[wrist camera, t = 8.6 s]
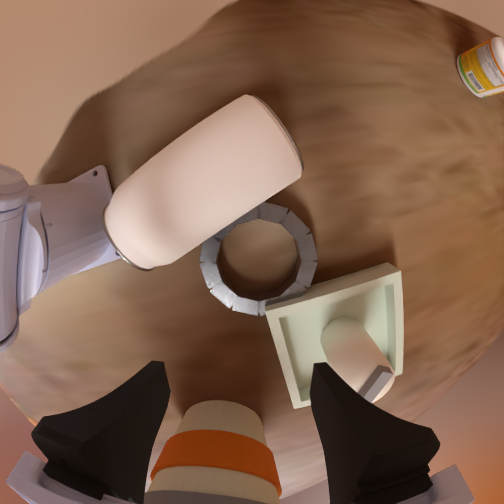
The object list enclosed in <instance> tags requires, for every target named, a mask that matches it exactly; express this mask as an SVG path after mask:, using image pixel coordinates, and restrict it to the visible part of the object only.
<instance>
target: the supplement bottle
mask: <svg viewBox="0 0 504 504" xmlns="http://www.w3.org/2000/svg"><path fill="white" fill-rule="evenodd" d="M457 69H458V72H459V74H460V77H461V78H462V80H463V82H464V84H465V85H466V86H467V88H468V89H469V90H470V91H471V92H472V93H473V94H475V95H476V96H478V97H487V96H491V95H494V94H498V93H502V92H504V39H503V38H501V37H495V38H492V39H490V40H488V41H486V42H484V43H482V44H480V45H478V46H476V47H474V48H472V49H470V50H468V51H466V52H464V53H462V54H460V55H459V56H458V58H457Z"/></svg>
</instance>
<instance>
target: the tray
mask: <svg viewBox="0 0 504 504" xmlns="http://www.w3.org/2000/svg"><path fill="white" fill-rule="evenodd" d="M307 289H308V291H307V292H305V293H304V294H303V295H302V296H301V297H298V298H294V299H291V300H287V301H283V302H280V303H276V304H272V305H268V306H265V313H266V316H267V320H268V323H269V326H270V330H271V333H272V336H273V340H274V343H275V347H276V350H277V353H278V357H279V360H280V363H281V367H282V370H283V373H284V377H285V380H286V384H287V387H288V390H289V394H290V397H291V400H292V404H293V407H294V409H297V408H301V407H305V406H309V405H311V401H310V394H309V392H310V386H311V379H312V372H313V365H314V363H321V362H327V363H328V361H327V358H326V356H325V353H324V351H323V348H322V346H321V342H320V337H321V333H322V331H323V329H324V328H325V327H326V325H327V324H328V323H330V322H331V321H332V320H334V319H336V318H339V317H342V316H351V317H354V318H356V319H357V320H358V321H359V322H360V323H361V324H362V326H363V327H364V328H365V330H366V331H367V333H368V334H369V335H370V337H371V338H372V339H373V341H374V342H375V344H376V345H377V346H378V348H379V349H380V351H381V352H382V354H383V355H384V356H385V358H386V359H387V361H388V362H389V364H390V365H391V366H392V368H393V369H394V372H395V376H397V375H400V374H402V368H403V335H404V328H403V294H402V279H401V270H399V269H397V268H396V267H394V266H393V265H391V264H390V263H388V262H386V263H383V264H380V265H376V266H373V267H370V268H367V269H364V270H361V271H358V272H354V273H351V274H348V275H344V276H341V277H338V278H334V279H331V280H328V281H324V282H321V283H317V284H314V285H310V288H309V287H307ZM328 364H329V363H328Z"/></svg>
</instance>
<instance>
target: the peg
mask: <svg viewBox="0 0 504 504" xmlns="http://www.w3.org/2000/svg"><path fill="white" fill-rule="evenodd" d="M320 342H321V346H322V348H323V351H324V353H325V356H326V358H327V361H328V363H329V365H330V367H331V368H332V369H333V370H334V371H335V372H336V373H337V374H338V375H339V376H340V377H341V378H342V379H343V380H344V381H345V382H346V383H347V384H348V385H349V386H350V387H351V388H353V389H354V390H355V391H356V392H357V393H358V394H360V395H361V396H362V397H363V398H365V399H366V400H367V401H369V402H370V403H373V402H375V401H377V400H378V399H380V398H381V397H382V396H384V395H385V394H386V393H387V392H388V390H389V389H390V388H391V386H392V384H393V382H394V379H395V372H394V369H393V368H392V366H391V365H390V364H389V362H388V361H387V359H386V358H385V356H384V355H383V354H382V352H381V351H380V349H379V348H378V346H377V345H376V344H375V342H374V341H373V339H372V338H371V337H370V335H369V334H368V333H367V331H366V330H365V328H364V327H363V326H362V324H361V323H360V322H359V321H358V320H357V319H356V318H354V317H351V316H342V317H339V318H336V319H334V320H332V321H331V322H330V323H328V324H327V325H326V327H325V328H324V329H323V331H322V333H321V337H320Z"/></svg>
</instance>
